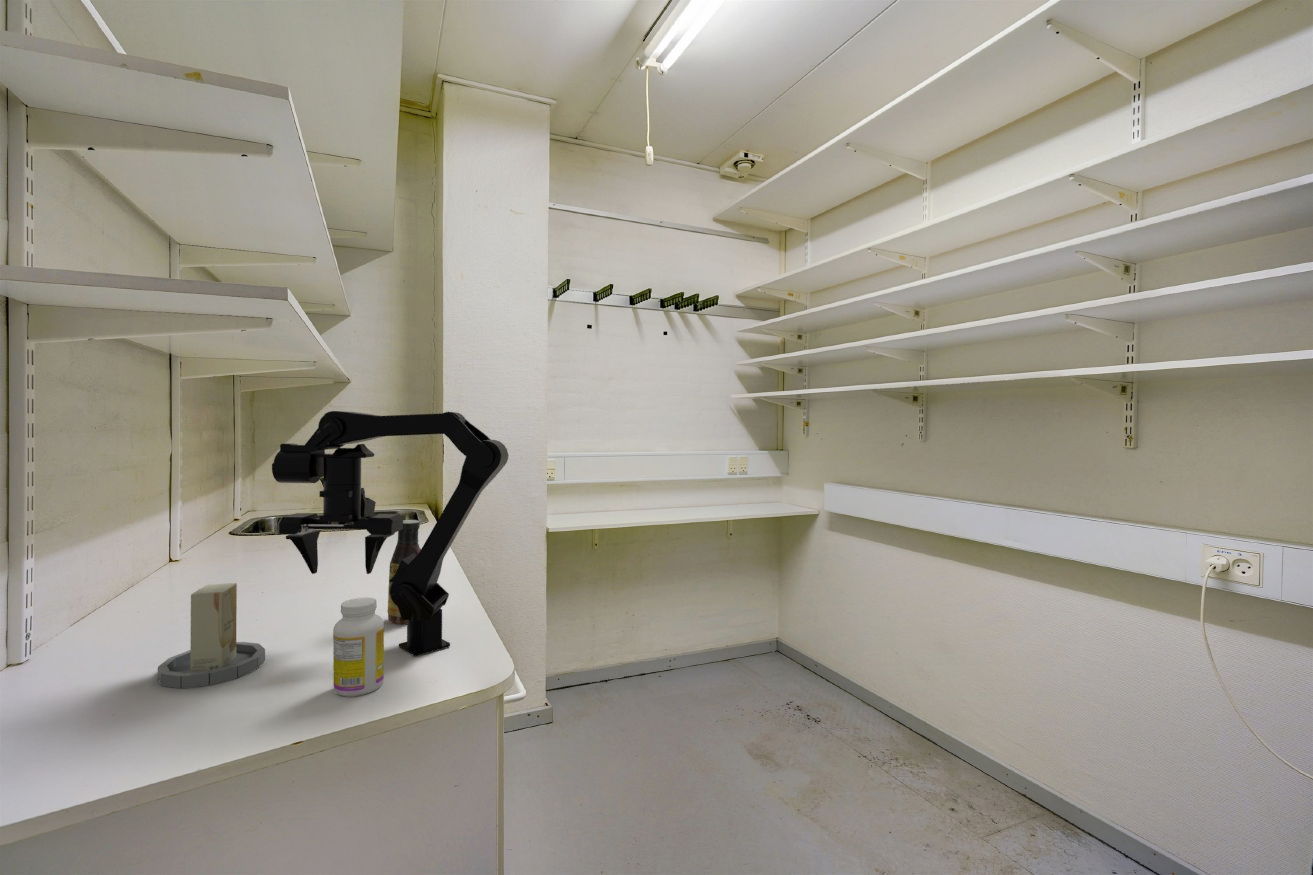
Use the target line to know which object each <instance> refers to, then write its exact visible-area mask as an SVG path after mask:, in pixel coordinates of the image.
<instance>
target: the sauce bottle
mask: <svg viewBox="0 0 1313 875" xmlns="http://www.w3.org/2000/svg"><path fill="white" fill-rule="evenodd" d="M420 525H421V524H420V521H419V520H417V519H403V529H402V530H400V531H398V532H397V543H396V546H395V548H394V551H393V553H392V557H391V559H390V562H389V573H388V574H389V575H388V596H387V598H388V599H387V619H388V622H390V623H391V624H395V625H399V624H400V625H407V620H402V617H401V615H400V612H399V609H398V607H397V605H395V604H394V602H393V601H392V600H391V596H390V594H389V589H390V587H391V584H392V583H393V582H389V580H390V579H391V578H393V577H394V575H395V574H396V572H397V569H398V566H399V564H400V562H401V561H402V560H403V559H405V558H407V557H408V556H410V555H412V554H413V553H415V554H416V555H418V554H419V552H420V551H421V549H422V548H421V547H420V544H419V529H420Z"/></svg>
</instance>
